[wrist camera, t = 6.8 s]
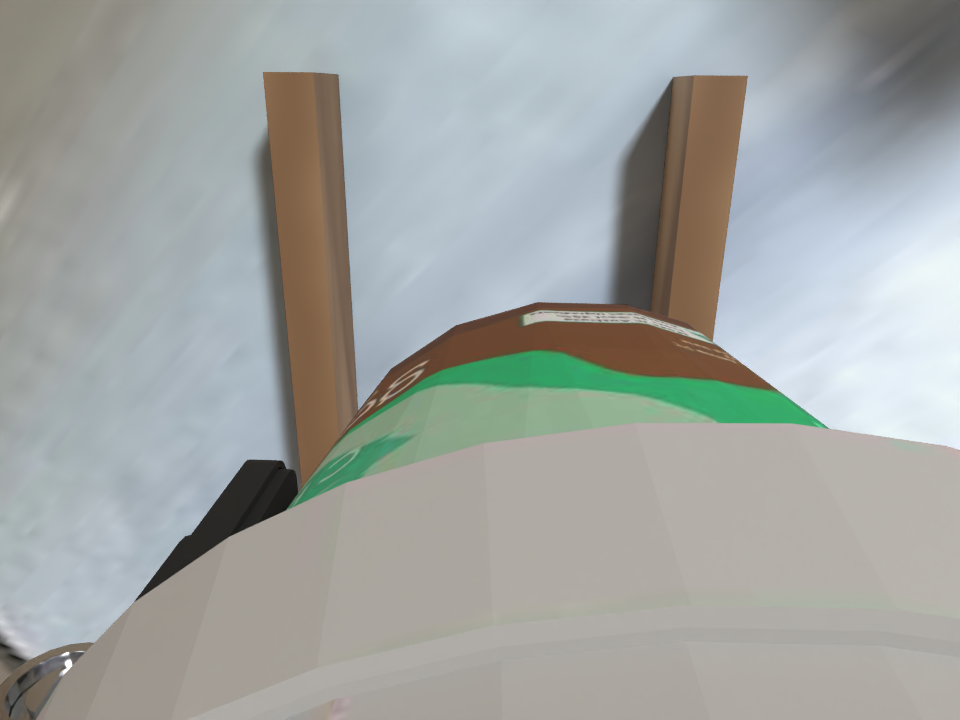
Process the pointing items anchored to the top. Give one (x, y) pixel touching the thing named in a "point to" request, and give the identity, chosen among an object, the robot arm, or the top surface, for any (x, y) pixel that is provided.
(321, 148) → the bay
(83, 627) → the top surface
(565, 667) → the food container
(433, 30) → the top surface
